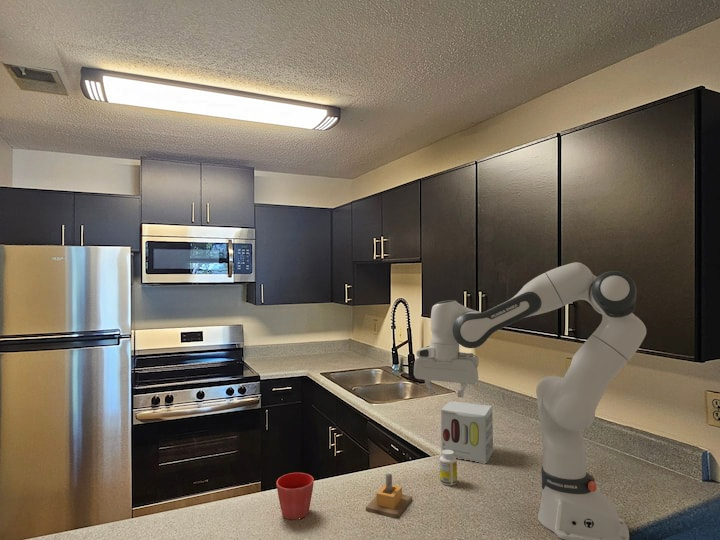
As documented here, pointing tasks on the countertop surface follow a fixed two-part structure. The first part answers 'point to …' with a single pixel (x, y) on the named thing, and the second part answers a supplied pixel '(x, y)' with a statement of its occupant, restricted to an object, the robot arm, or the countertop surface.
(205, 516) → the countertop surface
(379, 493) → the orange hollow square block
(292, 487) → the flower pot
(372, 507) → the peg mounting plate
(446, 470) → the supplement bottle
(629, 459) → the countertop surface
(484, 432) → the supplement box
